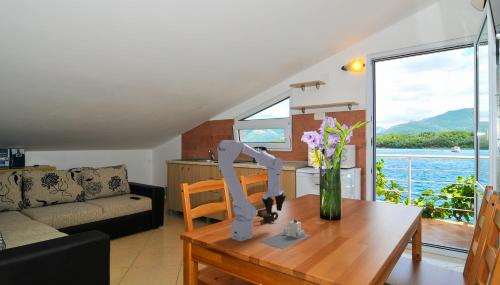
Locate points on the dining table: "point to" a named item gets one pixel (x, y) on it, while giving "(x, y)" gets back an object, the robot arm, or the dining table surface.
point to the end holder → (298, 235)
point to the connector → (295, 227)
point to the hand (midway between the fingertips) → (274, 212)
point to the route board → (282, 240)
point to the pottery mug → (267, 216)
